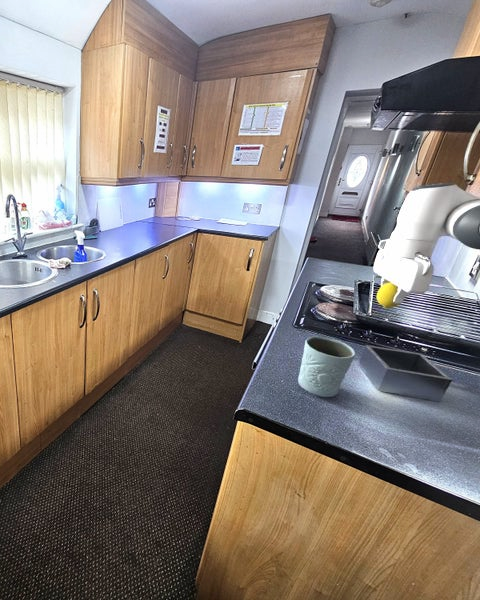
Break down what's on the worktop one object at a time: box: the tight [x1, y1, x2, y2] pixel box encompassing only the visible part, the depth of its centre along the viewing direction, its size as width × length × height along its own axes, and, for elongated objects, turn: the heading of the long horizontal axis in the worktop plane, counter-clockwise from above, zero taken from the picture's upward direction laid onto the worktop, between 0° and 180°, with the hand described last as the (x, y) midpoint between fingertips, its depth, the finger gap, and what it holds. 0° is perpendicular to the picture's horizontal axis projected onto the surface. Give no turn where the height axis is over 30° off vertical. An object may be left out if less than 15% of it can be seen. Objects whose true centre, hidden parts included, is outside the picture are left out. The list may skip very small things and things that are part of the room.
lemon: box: [376, 282, 400, 309], centre depth 90 cm, size 6×6×8 cm
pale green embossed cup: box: [297, 336, 356, 398], centre depth 83 cm, size 10×10×12 cm
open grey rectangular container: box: [357, 344, 453, 403], centre depth 86 cm, size 13×13×7 cm
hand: (389, 297), depth 90 cm, fingers closed on lemon, 5 cm apart
